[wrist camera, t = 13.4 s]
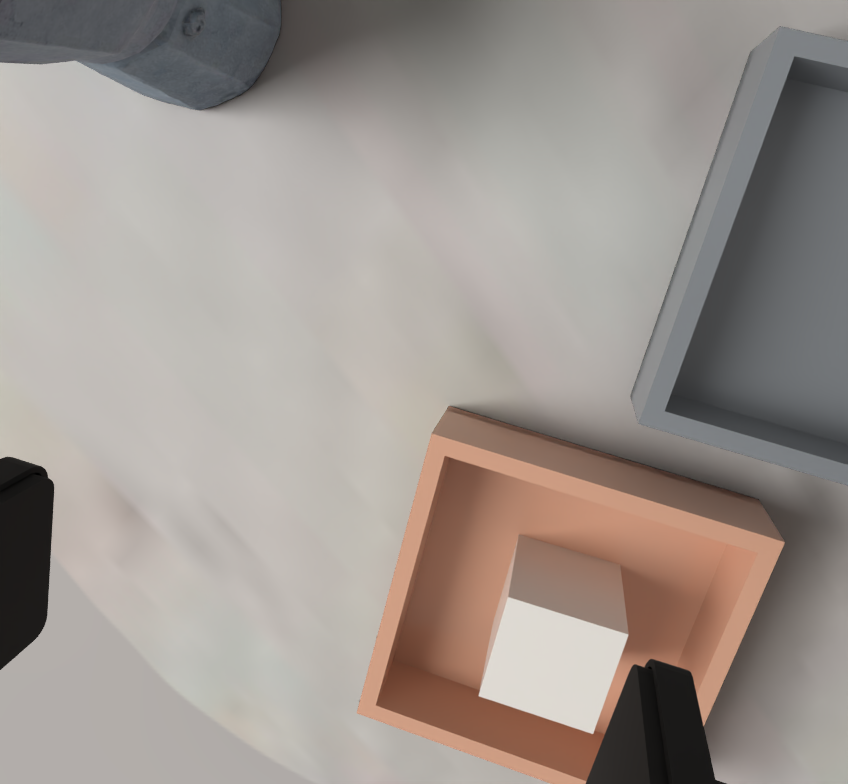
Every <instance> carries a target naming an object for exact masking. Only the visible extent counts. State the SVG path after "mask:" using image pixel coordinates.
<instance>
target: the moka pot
mask: <svg viewBox="0 0 848 784" xmlns="http://www.w3.org/2000/svg"><path fill="white" fill-rule="evenodd" d="M280 27H281V2H280V0H0V62H4V63H23V64H48V63H58V62H67V61H74V60H75V61H78V62H80V63H82V64H84V65H85V66H87V67H89V68H91V69H93V70H95V71H97V72H98V73H100V74H102V75H104V76H106V77H108V78H110V79H112V80H114V81H116V82H118V83H120V84H122V85H124V86H126V87H128V88H130V89H132V90H134V91H136V92H138V93H140V94H142V95H144V96H147V97H150V98H153V99H156V100H159V101H162V102H166V103H170V104H174V105H178V106H183V107H187V108H190V109H195V110H203V109H205V108H209V107H212V106H216V105H219V104H221V103H222V102H225V101H227V100H230V99H232V98H234V97H236V96H238V95H241V94H242V93H243V92H245V91H246V90H248V89H249V88H250V87H251V86H252V85H253V84H254V83H255V81H256V80H257V78H258V77H259V75H260V74H261V72H262V71H263V69H264V67H265V66H266V64H267V62H268V60H269V58H270V56H271V54H272V51H273V49H274V46H275V43H276V40H277V38H278V36H279V33H280Z"/></svg>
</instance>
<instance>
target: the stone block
mask: <svg viewBox="0 0 848 784" xmlns="http://www.w3.org/2000/svg"><path fill="white" fill-rule="evenodd" d="M628 635H629V633H628V625H627V617H626V608H625V600H624V592H623V584H622V576H621V567H620V565H619V564H616V563H613V562H609V561H606V560H603V559H599V558H596V557H593V556H589V555H586V554H583V553H579V552H576V551H573V550H569V549H566V548H563V547H559V546H556V545H553V544H549V543H546V542H543V541H539V540H536V539H533V538H529V537H526V536H523V535H519V536H518V539H517V542H516V546H515V549H514V553H513V556H512V559H511V563H510V566H509V570H508V573H507V576H506V580H505V583H504V587H503V590H502V593H501V597H500V600H499V604H498V607H497V610H496V614H495V617H494V620H493V625H492V630H491V635H490V641H489V646H488V651H487V656H486V661H485V666H484V671H483V676H482V681H481V686H480V691H479V696H480V697H483V698H486V699H489V700H492V701H495V702H498V703H501V704H504V705H507V706H510V707H513V708H516V709H519V710H522V711H525V712H528V713H531V714H534V715H537V716H540V717H543V718H546V719H549V720H552V721H555V722H558V723H561V724H564V725H567V726H570V727H573V728H576V729H579V730H582V731H585V732H588V733H591V734H593V733H594V730H595V727H596V724H597V722H598V719H599V716H600V713H601V710H602V708H603V705H604V702H605V699H606V696H607V694H608V691H609V688H610V685H611V683H612V680H613V677H614V674H615V671H616V669H617V666H618V663H619V660H620V658H621V655H622V652H623V649H624V646H625V644H626V641H627V638H628Z"/></svg>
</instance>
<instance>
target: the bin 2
mask: <svg viewBox="0 0 848 784" xmlns="http://www.w3.org/2000/svg"><path fill="white" fill-rule="evenodd" d="M631 400H632V403H633V407H634V410H635V414H636V417H637V421H638V424H641V425H644V426H647V427H651V428H654V429H657V430H661V431H664V432H668V433H671V434H674V435H678V436H681V437H685V438H688V439H691V440H695V441H698V442H701V443H705V444H708V445H712V446H715V447H718V448H722V449H725V450H729V451H732V452H735V453H739V454H742V455H745V456H749V457H752V458H756V459H759V460H762V461H766V462H769V463H773V464H776V465H779V466H783V467H786V468H790V469H793V470H796V471H800V472H803V473H806V474H810V475H813V476H817V477H820V478H823V479H827V480H830V481H834V482H837V483H840V484H844V485H847V486H848V41H845V40H840V39H836V38H831V37H827V36H822V35H818V34H813V33H809V32H804V31H800V30H795V29H790V28H786V27H781V26H780V27H778V28H777V29H776V30H775V31H774V32H773V33H772V34H770V35H769V36H768V37H767V38H766V39H765V40H763V41H762V42H761V43H760V44H759V45H758V46H757V47H755V48H754V49H753V50H752V51H751V52H750V55H749V58H748V60H747V63H746V66H745V69H744V72H743V75H742V78H741V80H740V83H739V86H738V89H737V92H736V95H735V98H734V101H733V103H732V106H731V109H730V112H729V115H728V118H727V121H726V123H725V126H724V129H723V132H722V135H721V138H720V141H719V144H718V146H717V149H716V152H715V155H714V158H713V161H712V164H711V167H710V169H709V172H708V175H707V178H706V181H705V184H704V187H703V189H702V192H701V195H700V198H699V201H698V204H697V207H696V210H695V212H694V215H693V218H692V221H691V224H690V227H689V230H688V232H687V235H686V238H685V241H684V244H683V247H682V250H681V253H680V255H679V258H678V261H677V264H676V267H675V270H674V273H673V275H672V278H671V281H670V284H669V287H668V290H667V293H666V296H665V298H664V301H663V304H662V307H661V310H660V313H659V316H658V319H657V321H656V324H655V327H654V330H653V333H652V336H651V339H650V341H649V344H648V347H647V350H646V353H645V356H644V359H643V362H642V364H641V367H640V370H639V373H638V376H637V379H636V382H635V384H634V387H633V390H632V393H631Z"/></svg>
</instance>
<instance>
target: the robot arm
mask: <svg viewBox="0 0 848 784" xmlns="http://www.w3.org/2000/svg"><path fill="white" fill-rule="evenodd" d="M53 501H54V484H53V482H52V480H50V479H49V478H48V474H47V472H46V470H45V469H44V468H43V467H41V466H38V465H35V464H32V463H29V462H25V461H22V460H19V459H16V458H13V457H5V458H2V459H0V670H1V669H2V668H3V667H4V666H5V665H6V664H8V663H9V662H10V661H11V660H12V659H13V658H15V657H16V656H17V655H18V654H19V653H20V652H21V651H22V650H24V649H25V648H26V647H27V646H28V645H29V644H30V643H32V642H33V641H34V640H35V639H36V638H37V637H38V635H39V634H40V633H41V631H42V629H43V627H44V625H45V622H46V619H47V609H48V590H49V572H50V555H51V537H52V519H53ZM586 784H726V783H723V782H720V781H717V780H715V777H714V772H713V767H712V763H711V758H710V754H709V749H708V744H707V740H706V735H705V731H704V726H703V722H702V717H701V712H700V708H699V703H698V699H697V694H696V689H695V685H694V680H693V676H692V674H691V672H690V671H689V670H686V669H683V668H680V667H677V666H673V665H670V664H667V663H664V662H661V661H657V660H654V659H650V660H648V662H647V663H646V665H645V667H642V666H639V665H636V664H634V665H633V666H632V667H631V669H630V671H629V674H628V676H627V679H626V681H625V684H624V686H623V689H622V692H621V694H620V697H619V699H618V702H617V704H616V707H615V710H614V712H613V715H612V717H611V720H610V722H609V725H608V727H607V730H606V733H605V735H604V738H603V740H602V743H601V745H600V748H599V750H598V753H597V756H596V758H595V761H594V763H593V766H592V768H591V771H590V774H589V776H588V779H587V781H586Z"/></svg>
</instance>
